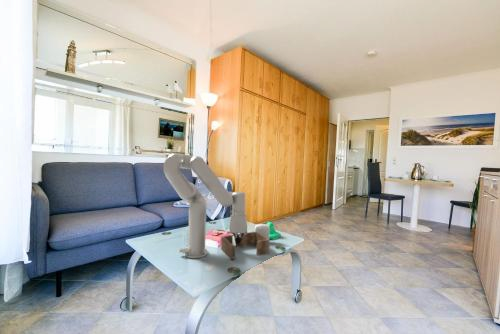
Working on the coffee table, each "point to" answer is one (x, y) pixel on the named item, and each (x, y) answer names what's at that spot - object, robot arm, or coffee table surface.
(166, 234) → the coffee table surface
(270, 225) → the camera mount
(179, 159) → the robot arm
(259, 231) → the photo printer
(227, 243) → the brown wooden open box
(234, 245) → the door
